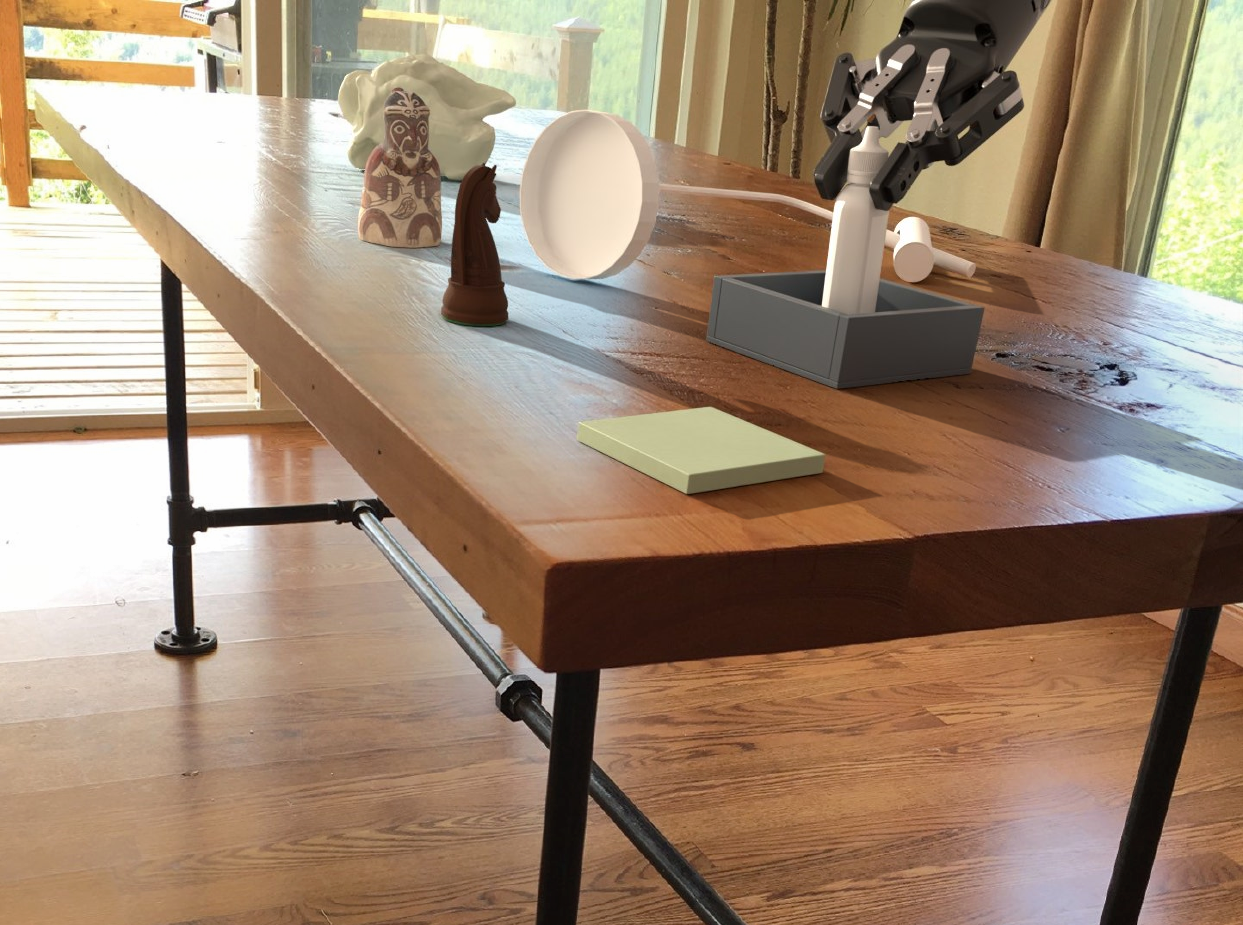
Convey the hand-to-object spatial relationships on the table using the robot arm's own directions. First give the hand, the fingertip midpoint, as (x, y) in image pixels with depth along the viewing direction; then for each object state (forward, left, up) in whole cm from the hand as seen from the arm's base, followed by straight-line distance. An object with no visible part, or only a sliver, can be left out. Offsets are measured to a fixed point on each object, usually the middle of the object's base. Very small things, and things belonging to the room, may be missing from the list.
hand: (850, 195), depth 90 cm
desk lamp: (+26, -21, -11) cm, 35 cm away
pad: (-14, +22, -11) cm, 28 cm away
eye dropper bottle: (0, -2, -8) cm, 9 cm away
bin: (0, -2, -11) cm, 11 cm away
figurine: (+44, +7, -11) cm, 46 cm away
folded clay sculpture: (+81, -17, -11) cm, 84 cm away
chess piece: (+16, +17, -11) cm, 26 cm away
